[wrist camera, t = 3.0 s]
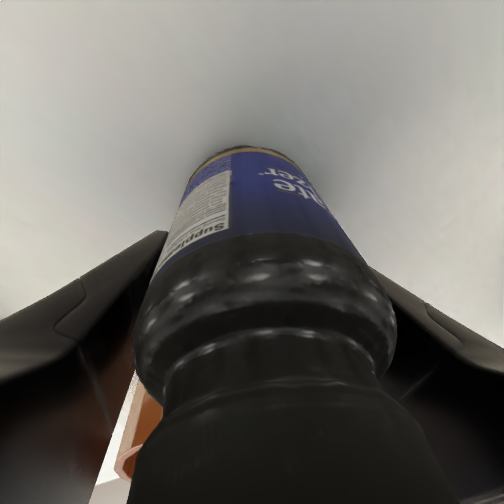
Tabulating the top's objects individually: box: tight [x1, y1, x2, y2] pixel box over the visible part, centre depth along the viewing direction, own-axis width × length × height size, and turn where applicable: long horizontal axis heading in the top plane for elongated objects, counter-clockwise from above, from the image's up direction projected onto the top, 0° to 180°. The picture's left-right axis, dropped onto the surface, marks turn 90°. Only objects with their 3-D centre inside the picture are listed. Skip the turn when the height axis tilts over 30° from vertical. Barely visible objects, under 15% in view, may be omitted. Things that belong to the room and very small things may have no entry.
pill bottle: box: [127, 146, 460, 504], centre depth 8 cm, size 6×6×11 cm
